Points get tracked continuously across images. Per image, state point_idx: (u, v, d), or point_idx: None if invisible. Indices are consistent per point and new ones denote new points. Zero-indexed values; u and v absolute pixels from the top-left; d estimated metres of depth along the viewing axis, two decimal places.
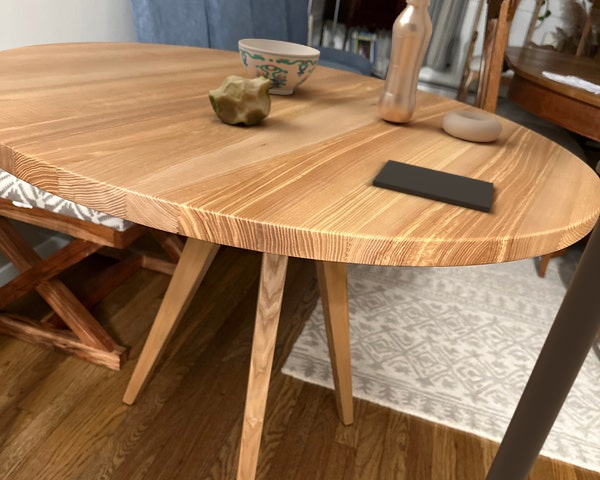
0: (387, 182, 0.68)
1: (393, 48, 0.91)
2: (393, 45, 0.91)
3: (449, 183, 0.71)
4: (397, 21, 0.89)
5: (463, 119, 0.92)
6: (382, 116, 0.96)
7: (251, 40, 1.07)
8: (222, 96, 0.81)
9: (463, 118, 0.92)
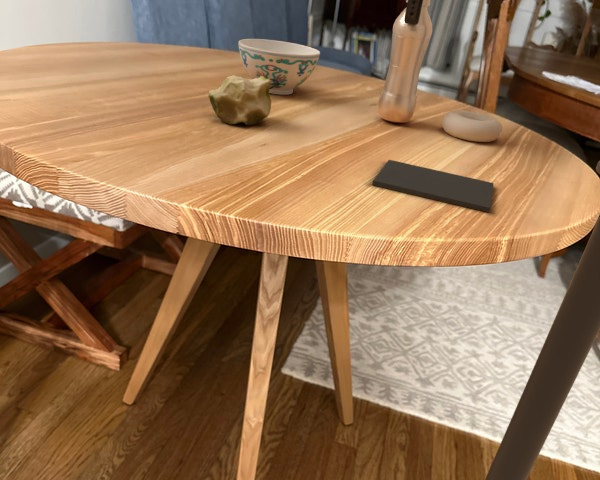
0: (387, 182, 0.68)
1: (393, 48, 0.91)
2: (393, 46, 0.91)
3: (449, 183, 0.71)
4: (397, 21, 0.89)
5: (463, 119, 0.92)
6: (382, 116, 0.96)
7: (251, 40, 1.07)
8: (222, 96, 0.81)
9: (463, 118, 0.92)
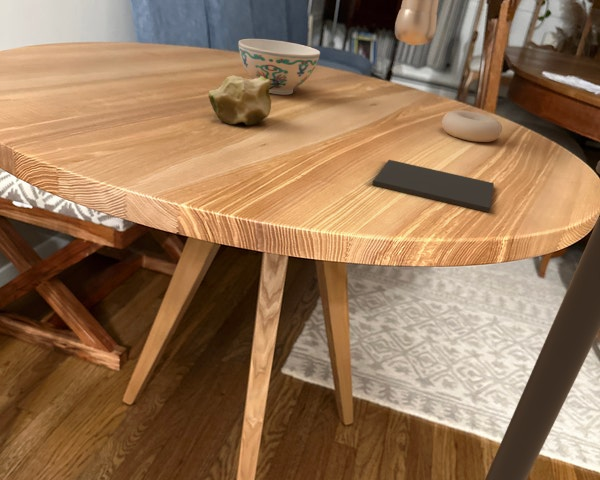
0: (387, 182, 0.68)
1: None
2: None
3: (449, 183, 0.71)
4: None
5: (463, 119, 0.92)
6: (400, 37, 0.89)
7: (251, 40, 1.07)
8: (222, 96, 0.81)
9: (463, 118, 0.92)
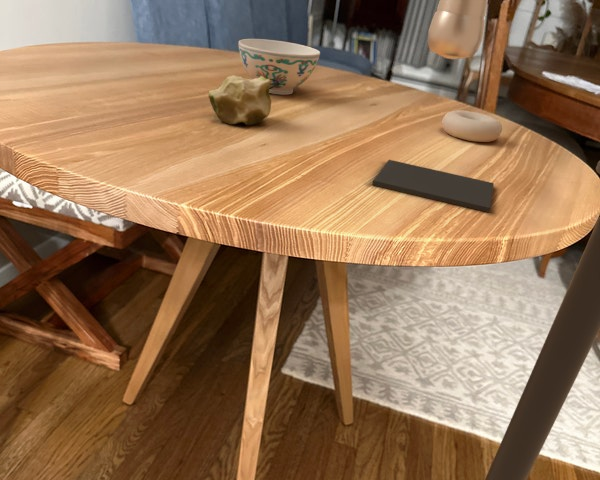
0: (387, 182, 0.68)
1: None
2: None
3: (449, 183, 0.71)
4: None
5: (463, 119, 0.92)
6: (435, 49, 0.67)
7: (251, 40, 1.07)
8: (222, 96, 0.81)
9: (463, 118, 0.92)
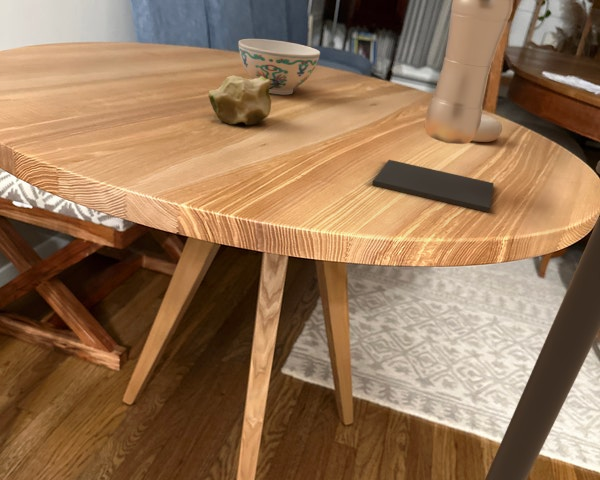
0: (387, 182, 0.68)
1: (452, 35, 0.61)
2: (453, 31, 0.61)
3: (449, 183, 0.71)
4: None
5: None
6: (432, 135, 0.66)
7: (251, 40, 1.07)
8: (222, 96, 0.81)
9: None
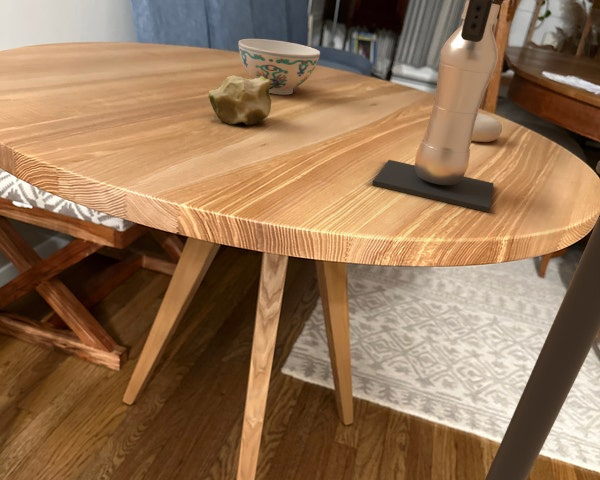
0: (387, 182, 0.68)
1: (441, 83, 0.64)
2: (441, 80, 0.63)
3: None
4: (448, 46, 0.62)
5: None
6: (422, 176, 0.69)
7: (251, 40, 1.07)
8: (222, 96, 0.81)
9: None
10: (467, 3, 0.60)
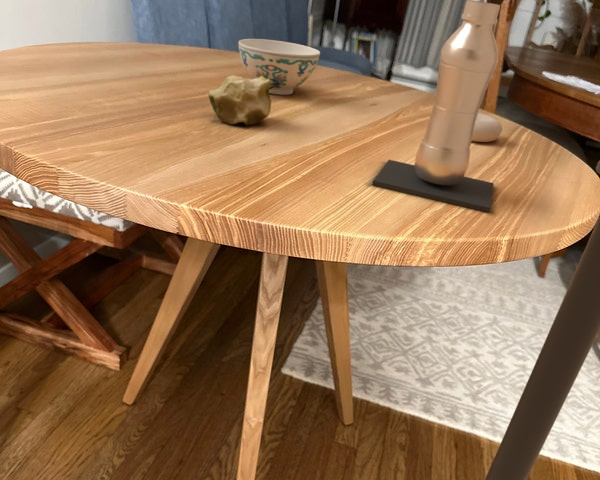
0: (387, 182, 0.68)
1: (441, 83, 0.64)
2: (442, 80, 0.63)
3: None
4: (448, 46, 0.62)
5: None
6: (422, 176, 0.69)
7: (251, 40, 1.07)
8: (222, 96, 0.81)
9: None
10: (467, 3, 0.60)
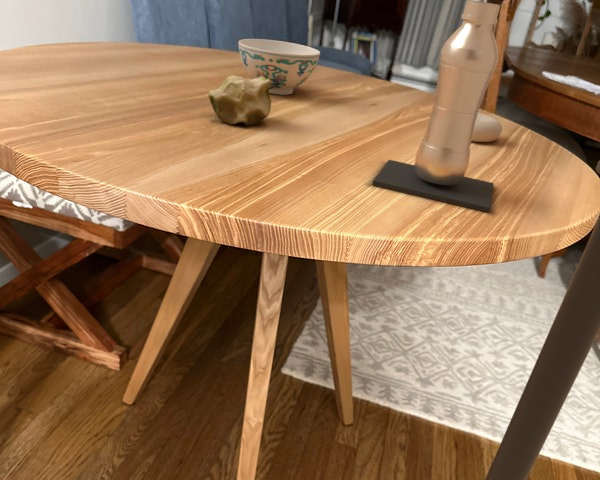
0: (387, 182, 0.68)
1: (441, 83, 0.64)
2: (442, 80, 0.63)
3: None
4: (448, 46, 0.62)
5: None
6: (422, 176, 0.69)
7: (251, 40, 1.07)
8: (222, 96, 0.81)
9: None
10: (467, 3, 0.60)
